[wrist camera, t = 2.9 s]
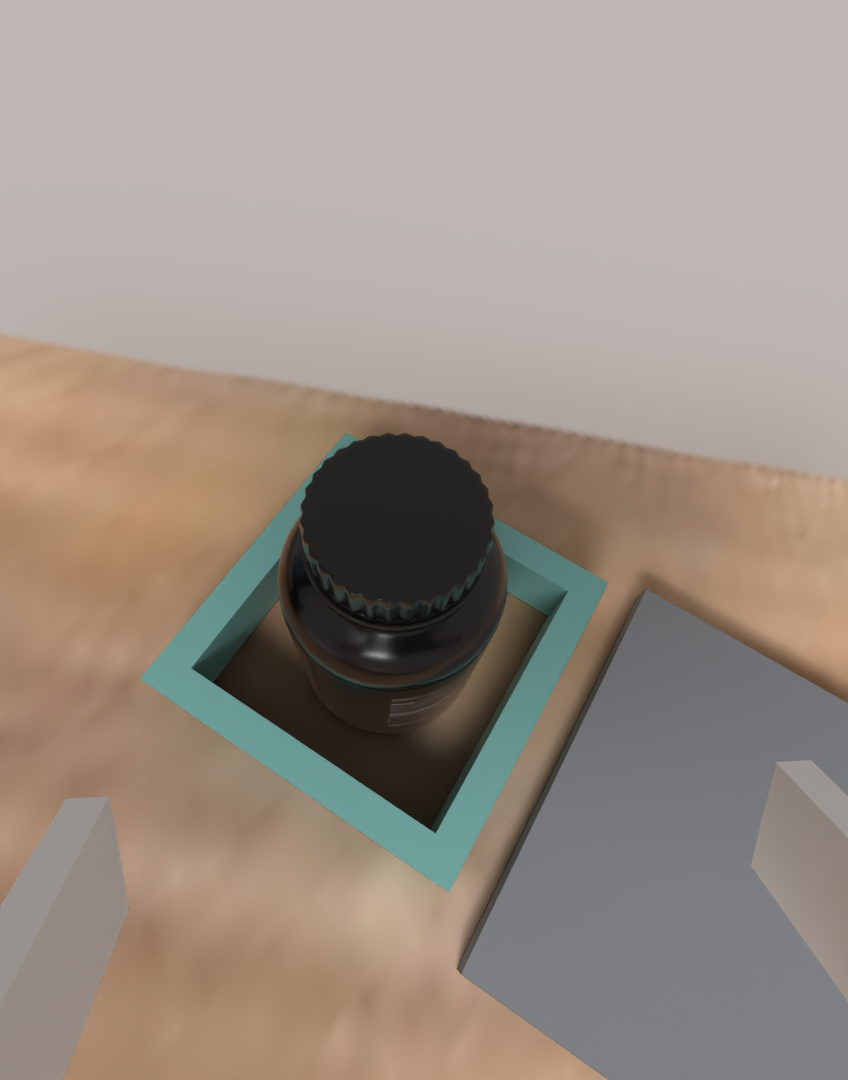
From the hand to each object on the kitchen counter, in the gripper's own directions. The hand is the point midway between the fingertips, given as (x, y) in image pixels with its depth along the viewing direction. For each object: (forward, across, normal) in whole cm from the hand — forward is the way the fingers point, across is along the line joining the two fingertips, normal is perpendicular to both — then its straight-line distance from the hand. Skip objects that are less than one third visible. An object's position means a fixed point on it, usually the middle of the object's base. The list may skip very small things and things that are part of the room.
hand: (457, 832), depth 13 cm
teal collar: (+13, -1, -3) cm, 14 cm away
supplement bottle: (+13, -1, -3) cm, 14 cm away
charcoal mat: (+7, +12, -9) cm, 16 cm away
